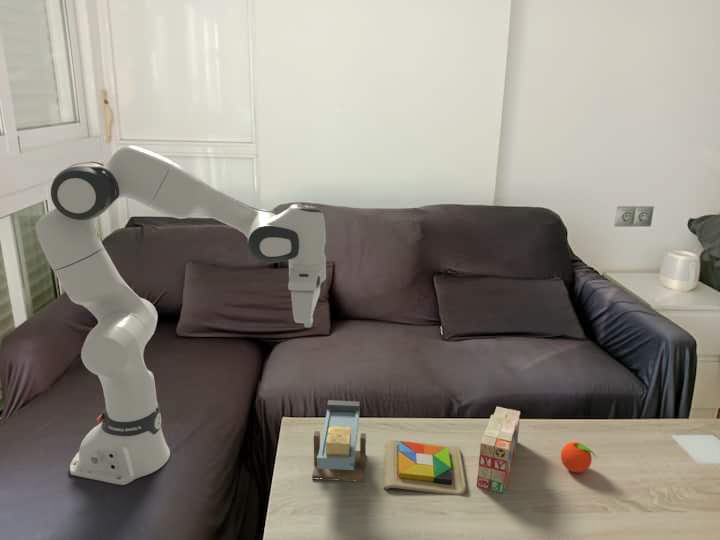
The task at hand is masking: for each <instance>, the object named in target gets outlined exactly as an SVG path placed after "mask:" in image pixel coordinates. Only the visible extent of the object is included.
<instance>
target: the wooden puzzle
mask: <svg viewBox="0 0 720 540" xmlns="http://www.w3.org/2000/svg"><path fill="white" fill-rule="evenodd" d="M384 447H385V455H384V454H383V472H384V477H382V480H383V482H382V484H383V485H382V488H383V487H384V488H385V490H387V489H391V488H392V489H401V490H408V491H416V492H426V493H431V494H432V493H433V494H440V495H451V496H452V495H455V496H456V495H457V496H462V495H463V494H465V492H466V489H467V486H466V478H465V473H464V466H463V460H462V454H461V449H460V445H458V444H456V445H455V444H454V445H451V446H449V445H441V444H432V443H423V442H415V441H409V440H400V439H389V440H387V441H386V442H385V443H384ZM384 456H385V457H384ZM384 488H383V489H384Z"/></svg>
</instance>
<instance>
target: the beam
mask: <svg viewBox="0 0 720 540" xmlns="http://www.w3.org/2000/svg"><path fill="white" fill-rule="evenodd" d="M360 404H361V403H360V401H355V400H354V401H353V400H352V401H351V400H334V399H332V400H331V399H330V400H329V399H328V400H327V404H326V405H327V406H326V413H325V414H326V415H325V418H324V419H325V420H324V425H323V429H322V434H321V438H320V449H319V454H318V455H317V468H319V469H339V470H354V461H355V451H357V439H358V430H359V422H360V421H359V420H360ZM329 426H335V427H351V450H350V457H340V456H326V440H327V435H328V430H329Z"/></svg>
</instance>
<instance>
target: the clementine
mask: <svg viewBox="0 0 720 540" xmlns="http://www.w3.org/2000/svg"><path fill="white" fill-rule="evenodd" d="M592 455H594V457H595V459H596V460H597V457H596V455H595V452H593V451H592V450H591V449H590V448H589V447H587V446H585V444H582V443H580V442H577V441H575V442H569V443H567V444H565V445H564V446H563V448H562V449H561V452H560V460H561V463H562V465H563V466H564V467H565V468H566V469H567V470H568V471H570V472H573V473H583V472H586V471H587V470H588V469H589V468H590V466H591V464H592Z"/></svg>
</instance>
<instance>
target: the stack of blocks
mask: <svg viewBox="0 0 720 540" xmlns="http://www.w3.org/2000/svg"><path fill="white" fill-rule="evenodd" d="M520 417H521V411H520V410H517V409H511V408H505V407H501V406H496V407H495V410H494V413H493V414H491V415H490V417H489V420H488V424H487V426H486V429H485V431H484V434H483V436H482V438H481V441H480V449H479V456H478V471H477V478H476V487H477V488H480V489H485V490H487V491H492V492H495V493H498V494H502V495H503V494H504V493H505V489H506V486H507V483H508V479H509V477H510V473H511V467H512V463H513V462H512V461H513V458H514V456H515V453H516V450H517V449H516V448H517V445H518V440H519V439H518V438H519V432H520V424H521V423H520V419H521V418H520Z"/></svg>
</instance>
